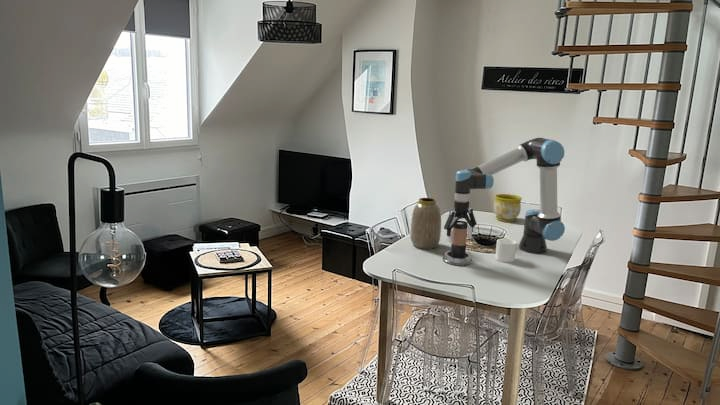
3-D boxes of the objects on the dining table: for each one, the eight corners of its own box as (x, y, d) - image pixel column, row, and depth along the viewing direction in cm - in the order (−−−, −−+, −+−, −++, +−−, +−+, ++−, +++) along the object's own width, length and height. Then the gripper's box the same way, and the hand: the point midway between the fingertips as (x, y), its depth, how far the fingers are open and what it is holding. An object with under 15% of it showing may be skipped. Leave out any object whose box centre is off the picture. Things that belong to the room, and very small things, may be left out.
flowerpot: (493, 222, 356) (495, 198, 352) (491, 215, 374) (493, 193, 370) (520, 224, 353) (523, 200, 350) (517, 217, 371) (520, 194, 367)
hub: (472, 258, 282) (472, 251, 282) (471, 267, 268) (471, 260, 267) (444, 254, 286) (444, 248, 285) (441, 263, 272) (442, 257, 271)
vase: (443, 243, 306) (446, 198, 300) (434, 251, 291) (437, 204, 284) (415, 239, 313) (418, 194, 307) (405, 246, 298) (407, 200, 291)
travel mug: (468, 260, 276) (471, 223, 271) (457, 262, 272) (460, 225, 267) (457, 255, 282) (460, 219, 277) (447, 258, 278) (449, 221, 273)
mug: (509, 264, 275) (511, 245, 272) (491, 259, 281) (493, 241, 279) (519, 258, 284) (521, 240, 282) (502, 254, 290) (504, 236, 288)
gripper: (475, 196, 279) (472, 235, 284) (438, 201, 267) (436, 241, 272) (485, 199, 273) (482, 238, 278) (447, 204, 260) (445, 245, 265)
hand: (459, 240), depth 275 cm, fingers open, 13 cm apart
